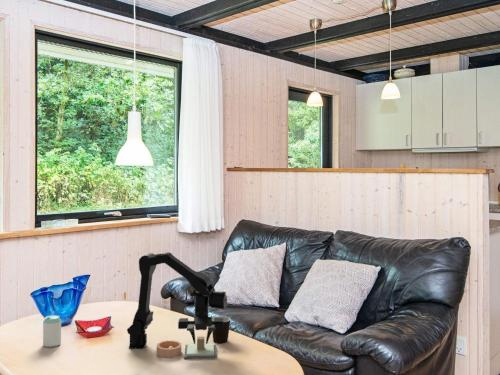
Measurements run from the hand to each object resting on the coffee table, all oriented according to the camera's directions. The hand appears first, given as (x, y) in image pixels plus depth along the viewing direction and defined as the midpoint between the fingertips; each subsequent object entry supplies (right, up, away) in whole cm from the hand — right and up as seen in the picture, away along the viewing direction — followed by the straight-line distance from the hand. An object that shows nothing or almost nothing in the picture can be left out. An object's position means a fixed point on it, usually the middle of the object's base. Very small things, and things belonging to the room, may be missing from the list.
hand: (200, 343), depth 198 cm
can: (-64, -2, +5) cm, 64 cm away
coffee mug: (+8, -4, +15) cm, 18 cm away
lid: (0, -3, 0) cm, 3 cm away
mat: (0, -4, 0) cm, 4 cm away
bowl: (-13, -4, -1) cm, 14 cm away
